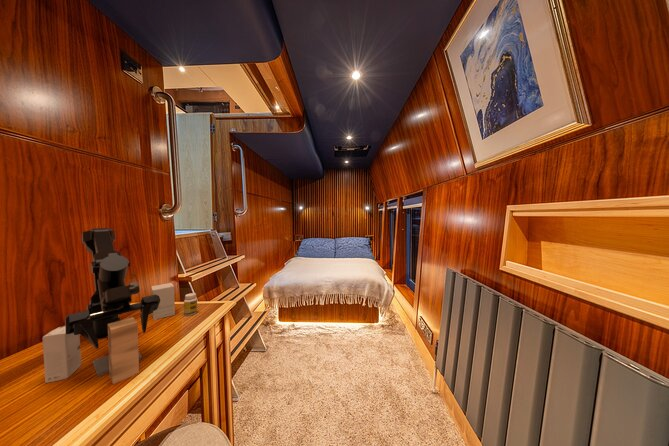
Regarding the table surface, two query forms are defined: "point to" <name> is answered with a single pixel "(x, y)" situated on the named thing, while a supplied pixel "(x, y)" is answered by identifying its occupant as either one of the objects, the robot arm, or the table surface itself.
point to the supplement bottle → (190, 304)
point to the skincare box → (61, 354)
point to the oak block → (123, 349)
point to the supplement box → (164, 300)
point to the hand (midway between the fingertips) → (122, 339)
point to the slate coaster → (104, 364)
